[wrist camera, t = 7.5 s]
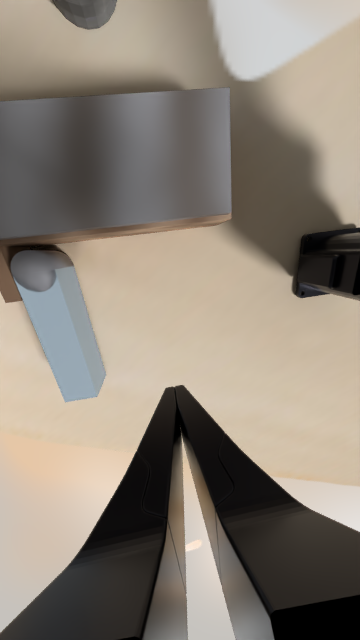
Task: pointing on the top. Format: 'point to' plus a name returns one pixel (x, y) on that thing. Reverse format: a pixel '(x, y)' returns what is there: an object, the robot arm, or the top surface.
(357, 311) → the top surface
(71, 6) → the beverage cup
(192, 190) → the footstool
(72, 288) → the bar
